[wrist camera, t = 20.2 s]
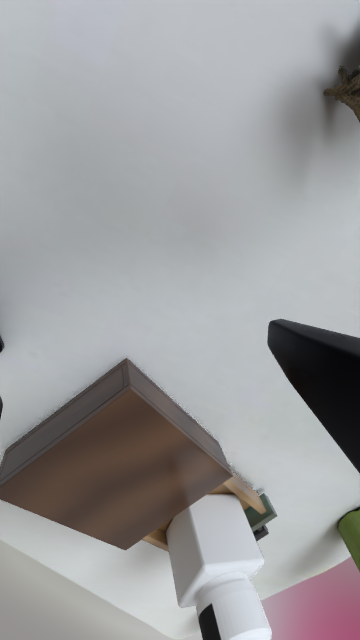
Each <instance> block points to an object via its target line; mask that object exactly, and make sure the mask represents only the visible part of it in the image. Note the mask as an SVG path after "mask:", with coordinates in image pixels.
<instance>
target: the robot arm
mask: <svg viewBox="0 0 360 640" xmlns="http://www.w3.org/2000/svg"><path fill="white" fill-rule="evenodd" d="M268 346H269V349H270V350H271V352H272V354H273V355H274V357H275V359H276V360H277V362H278V364H279V365H280V367H281V369H282V370H283V372H284V373H285V375H286V377H287V378H288V380H289V381H290V383H291V384H292V385H293V387H294V388H295V389H296V391H297V392H298V393H299V395H300V396H301V397H302V399H303V400H304V401H305V403H306V404H307V405H308V406H309V408H310V409H311V410H312V412H313V413H314V414H315V416H316V417H317V418H318V420H319V421H320V422H321V423H322V425H323V426H324V427H325V429H326V430H327V431H328V433H329V434H330V435H331V436H332V438H333V439H334V440H335V442H336V443H337V444H338V446H339V447H340V448H341V450H342V451H343V452H344V453H345V455H346V456H347V457H348V459H349V460H350V461H351V463H352V464H353V465H354V467H355V468H356V469H357V470H358V472H359V473H360V338H357V337H353V336H349V335H345V334H341V333H337V332H333V331H329V330H325V329H321V328H317V327H313V326H308V325H304V324H300V323H296V322H292V321H288V320H284V319H277V320H273V321H271V322H270V323H269V326H268ZM3 348H4V343H3V341H2V339H1V337H0V352H1V351H2V350H3ZM2 408H3V403H2V399H1V397H0V418H1V413H2Z"/></svg>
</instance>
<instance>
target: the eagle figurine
mask: <svg viewBox="0 0 360 640" xmlns="http://www.w3.org/2000/svg"><path fill="white" fill-rule="evenodd" d="M338 74H339V76H341V77H342V84H341V85H338V86H335V87H333V88H329V89H326V90H325V91H324V95H325V96H334V97H335V99H336V100H340V101H341V102H342V103H345V104H346V105H348V106H349V107H350V108H351V109H352V110H353V111H354V113H355V115H356V116H357V118H358V120H359V122H360V65H359V66H358V68H357V69H356V70H354V71H353V73H352V75H351V76H350V77H349V76H348V70H347V69H346V68H345V67H344V66H340V67H339V70H338Z"/></svg>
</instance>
